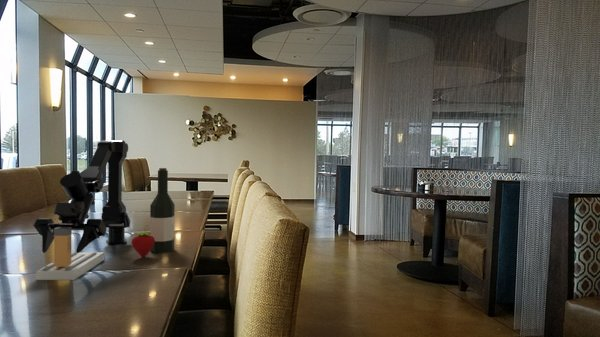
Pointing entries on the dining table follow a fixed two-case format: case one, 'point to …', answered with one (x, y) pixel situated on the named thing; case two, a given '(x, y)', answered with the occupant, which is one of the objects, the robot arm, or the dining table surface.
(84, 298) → the dining table surface
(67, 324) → the dining table surface
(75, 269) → the dimmer console
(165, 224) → the wine bottle
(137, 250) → the strawberry
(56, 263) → the fader lever
